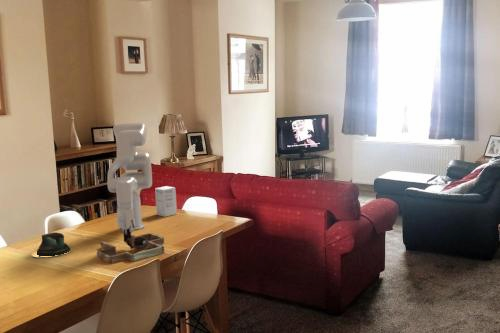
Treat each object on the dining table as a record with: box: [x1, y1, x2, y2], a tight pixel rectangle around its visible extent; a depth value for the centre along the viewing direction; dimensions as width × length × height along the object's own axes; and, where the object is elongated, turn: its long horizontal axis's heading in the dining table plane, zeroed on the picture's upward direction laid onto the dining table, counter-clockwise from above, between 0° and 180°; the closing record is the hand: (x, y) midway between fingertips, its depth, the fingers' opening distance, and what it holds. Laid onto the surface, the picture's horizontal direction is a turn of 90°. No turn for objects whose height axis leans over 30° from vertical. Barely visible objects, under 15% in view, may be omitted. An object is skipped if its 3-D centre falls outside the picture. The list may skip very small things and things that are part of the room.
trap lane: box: [96, 232, 165, 264], centre depth 253 cm, size 30×35×3 cm
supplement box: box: [154, 185, 178, 218], centre depth 321 cm, size 10×9×17 cm
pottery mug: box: [125, 235, 149, 254], centre depth 251 cm, size 12×10×8 cm
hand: (127, 241), depth 255 cm, fingers closed
